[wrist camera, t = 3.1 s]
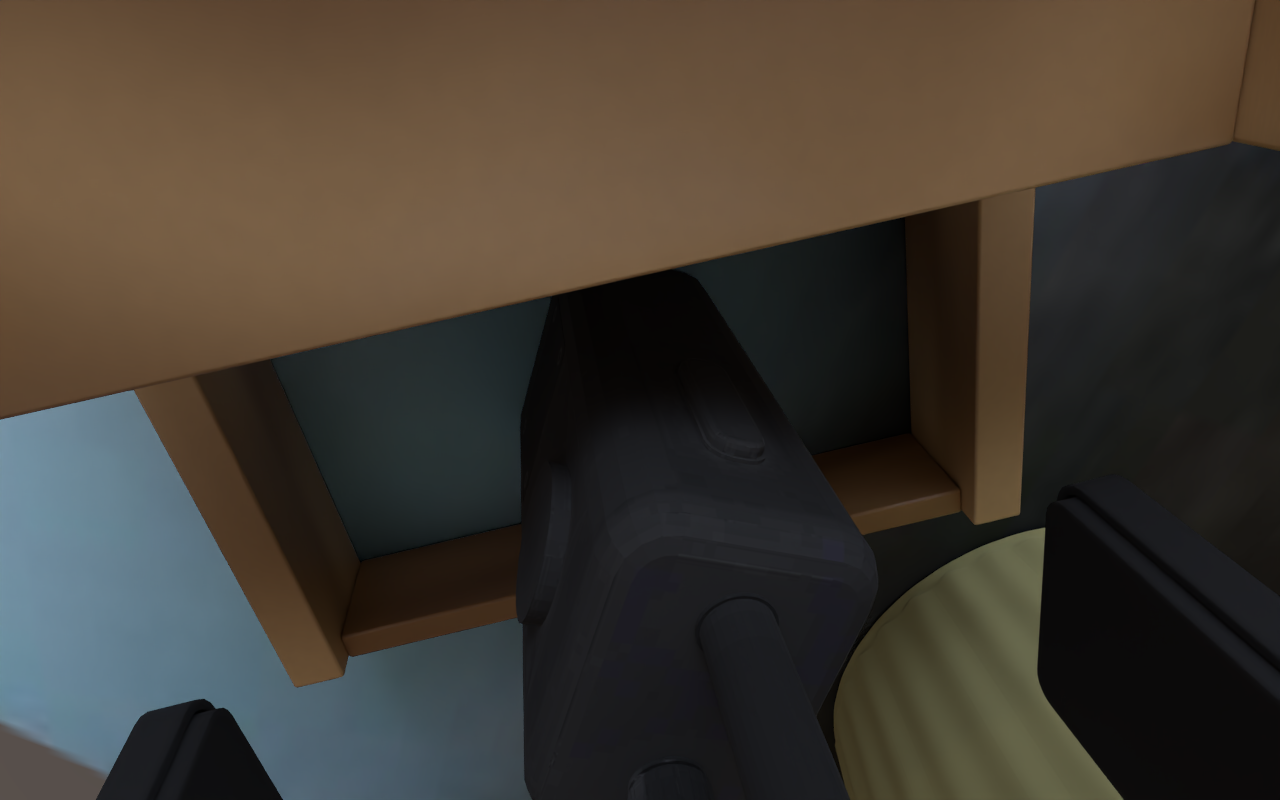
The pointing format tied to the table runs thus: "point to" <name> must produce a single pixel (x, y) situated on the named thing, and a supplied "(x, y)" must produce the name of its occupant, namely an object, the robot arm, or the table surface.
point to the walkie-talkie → (675, 562)
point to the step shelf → (546, 217)
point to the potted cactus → (961, 692)
